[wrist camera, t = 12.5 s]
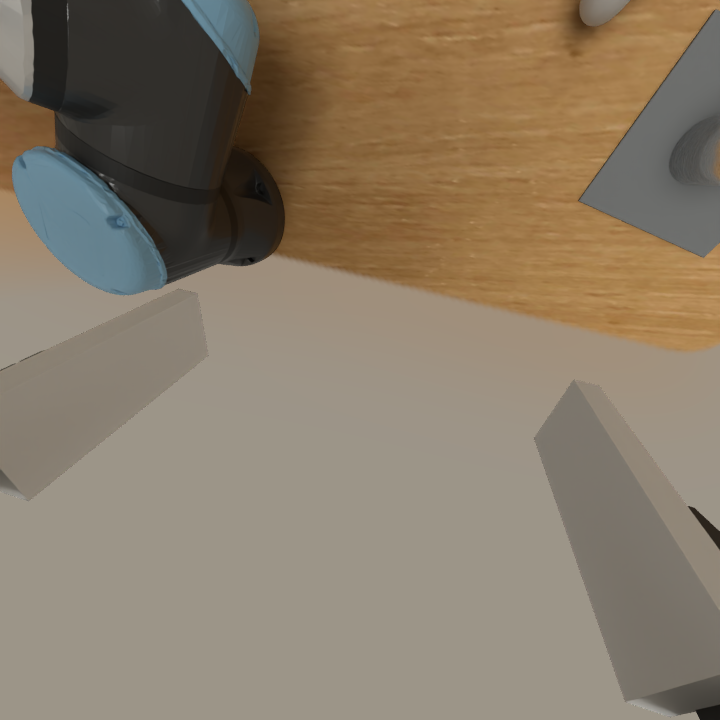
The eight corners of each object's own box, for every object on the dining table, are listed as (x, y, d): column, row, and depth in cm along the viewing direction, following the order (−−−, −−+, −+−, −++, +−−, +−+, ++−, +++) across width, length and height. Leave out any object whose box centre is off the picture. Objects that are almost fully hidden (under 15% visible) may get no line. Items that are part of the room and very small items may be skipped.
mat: (578, 200, 33) (578, 200, 33) (714, 10, 25) (716, 9, 25) (702, 257, 33) (703, 257, 33) (881, 85, 25) (884, 84, 25)
